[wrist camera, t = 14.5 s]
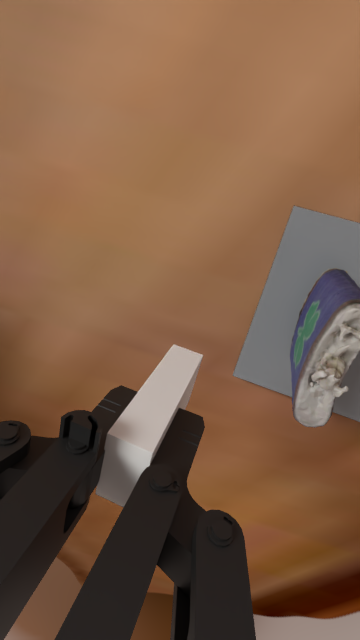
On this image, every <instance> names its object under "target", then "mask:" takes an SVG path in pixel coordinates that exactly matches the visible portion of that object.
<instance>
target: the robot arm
mask: <svg viewBox="0 0 360 640" xmlns="http://www.w3.org/2000/svg"><path fill="white" fill-rule="evenodd" d="M202 357H203V355H201V354H199V353H196V352H193V351H190V350H188V349H185V348H182V347H179V346H177V345H174V344H173V346H172V347H171V348H170V350H169V351H168V352H167V354H166V355H165V356H164V358H163V359H162V361H161V362H160V363H159V365H158V366H157V367H156V369H155V370H154V371H153V373H152V374H151V375H150V377H149V378H148V379H147V381H146V382H145V383H144V385H143V386H142V387H141V389H140V390H139V391H138V392H136V391H134V390H131V389H129V388H126V387H124V386H119V387H117V388H115V389H112V390H111V391H110V392H109V393H108V394H107V395H106V396H105V397H104V399H103V400H102V401H101V402H100V403H99V404H98V406H96V407H95V409H94V410H93V411H92V412H89V411H85V410H75V411H72V412H68V413H67V414H65V415H64V416H62V417H61V425H60V433H59V438H45V437H38V436H31V432H30V429H29V428H28V426H27V425H26V424H24V423H22V422H19V421H12V420H11V421H3V422H0V640H4V638H5V636H6V635H7V634H8V632H9V630H10V629H11V627H12V626H13V624H14V623H15V621H16V619H17V618H18V616H19V615H20V613H21V611H22V610H23V608H24V606H25V605H26V603H27V602H28V600H29V599H30V597H31V595H32V594H33V592H34V591H35V589H36V588H37V586H38V584H39V583H40V581H41V580H42V578H43V577H44V575H45V573H46V572H47V570H48V569H49V567H50V565H51V564H52V562H53V561H54V559H55V558H56V556H57V554H58V553H59V551H60V550H61V548H62V546H63V545H64V543H65V542H66V540H67V538H68V537H69V535H70V534H71V532H72V531H73V529H74V527H75V526H76V524H77V523H78V521H79V519H80V518H81V516H82V515H83V513H84V512H85V510H86V508H87V505H88V503H89V498H90V495H91V493H92V492H93V490H94V489H95V487H96V486H97V488H96V494H97V495H99V496H101V497H103V498H105V499H107V500H109V501H112V502H114V503H116V504H118V505H120V506H122V507H124V508H123V510H122V512H121V514H120V515H119V517H118V519H117V521H116V523H115V525H114V527H113V529H112V531H111V533H110V535H109V536H108V538H107V540H106V542H105V544H104V546H103V548H102V550H101V552H100V554H99V556H98V558H97V559H96V561H95V563H94V565H93V567H92V569H91V571H90V573H89V575H88V577H87V579H86V581H85V582H84V584H83V586H82V588H81V590H80V592H79V594H78V596H77V598H76V600H75V602H74V604H73V605H72V608H71V609H70V612H69V613H68V615H67V617H66V619H65V621H64V623H63V625H62V627H61V628H60V631H59V632H58V634H57V636H56V638H55V640H130V638H131V636H132V633H133V630H134V627H135V624H136V622H137V618H138V616H139V613H140V610H141V607H142V605H143V602H144V599H145V596H146V593H147V590H148V588H149V585H150V582H151V579H152V576H153V573H154V571H155V568H156V565H158V566H159V567H160V568H161V569H162V570H163V571H164V573H165V574H166V575H167V576H168V577H169V578H170V579H171V580H172V581H173V582H174V594H173V609H172V624H171V640H256V636H255V628H254V619H253V610H252V601H251V593H250V584H249V575H248V567H247V558H246V549H245V540H244V536H243V532H242V529H241V527H240V526H239V524H238V523H237V521H236V520H235V519H234V518H233V517H232V516H230V515H229V514H228V513H225V512H223V511H221V510H209V511H207V512H206V511H205V510H204V509H203V508H202V507H200V506H199V505H198V504H197V503H196V502H195V501H194V500H193V498H192V497H191V495H190V494H189V491H188V488H187V477H188V474H189V471H190V468H191V465H192V462H193V460H194V457H195V454H196V451H197V448H198V445H199V442H200V439H201V437H202V434H203V431H204V428H205V426H204V421H203V417H201V416H199V415H196V414H194V413H191V412H189V411H186V410H185V408H186V406H187V404H188V402H189V399H190V396H191V393H192V389H193V386H194V383H195V380H196V377H197V373H198V370H199V367H200V364H201V360H202Z"/></svg>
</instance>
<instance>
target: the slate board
mask: <svg viewBox="0 0 360 640" xmlns="http://www.w3.org/2000/svg"><path fill="white" fill-rule="evenodd" d="M333 268H337V269H341V270H344V271H347V274H348V275H349V276H350V277H351V278H352V280H354V281H355V283H356V284H357V285H358V287H360V223H358V222H354V221H351V220H347V219H343V218H339V217H336V216H332V215H328V214H324V213H321V212H317V211H313V210H309V209H305V208H302V207H298V206H293V208H292V211H291V214H290V217H289V219H288V222H287V225H286V228H285V231H284V233H283V236H282V239H281V242H280V244H279V247H278V250H277V253H276V256H275V258H274V261H273V264H272V267H271V269H270V272H269V275H268V278H267V281H266V283H265V286H264V289H263V292H262V294H261V297H260V300H259V303H258V306H257V308H256V311H255V314H254V317H253V319H252V322H251V325H250V328H249V331H248V333H247V336H246V339H245V342H244V344H243V347H242V350H241V353H240V356H239V358H238V361H237V364H236V367H235V369H234V373H233V376H235V377H238V378H241V379H243V380H246V381H249V382H252V383H254V384H257V385H260V386H263V387H265V388H268V389H271V390H273V391H276V392H279V393H282V394H284V395H287V396H290V397H292V381H291V378H292V376H291V362H290V349H291V344H292V338H293V335H294V331H295V328H296V324H297V321H298V318H299V313H300V310H301V309H302V306H303V303H304V302H305V299H306V298H307V297H308V296H307V295H308V293H309V292H310V291H311V289H312V287H313V285H314V284H315V282H316V280H317V279H318V278H319V277H320V276H321V275H322V273H324V272H325V271H327V270H328V269H333ZM345 386H347V387H348V388H349V389H348V391H347V392H344V393H343V394H342V395H341V396H340V397H336V398H335V402H334V406H333V411H332V412H334V413H336V414H339V415H342V416H345V417H347V418H350V419H353V420H356V421H358V422H360V352H359V353H358V355H357V356H356V358H355V359H354V361H353V362H352V364H351V366H350V368H349V370H348V371H347V373H346V375H345V377H344V379H343V381H342V384H341V387H340V388H343V387H345Z"/></svg>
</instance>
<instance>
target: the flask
mask: <svg viewBox="0 0 360 640" xmlns="http://www.w3.org/2000/svg"><path fill="white" fill-rule="evenodd" d="M307 296H308V297H307V298H306V299H305V302H304V303H303V306H302V309H301V310H300V313H299V318H298V321H297V324H296V328H295V331H294V335H293V338H292V344H291V349H290V362H291V376H292V378H291V381H292V404H293V407H292V409H293V415H294V418H295V419H296V420H297V421H298V422H299V423H301V424H302V425H304V426H306V427H318V426H324V425H325V424H326V423H327V421H328V420H329V418H330V417H331V415H332V411H333V406H334V402H335V398H336V397H340V396H341V395H342V394H343V393H344V392H347V391H348V389H349V388H348V387H347V386H345V387H343V388H340V387H341V384H342V381H343V379H344V377H345V375H346V373H347V371H348V370H349V368H350V366H351V364H352V362H353V361H354V359H355V358H356V356H357V355H358V353H359V352H360V287H358V285H357V284H356V283H355V281H354V280H352V278H351V277H350V276H349V275H348V274H347V271H344V270H341V269H337V268H333V269H328V270H327V271H325V272H324V273H322V275H321V276H320V277H319V278H318V279H317V280H316V282H315V284H314V285H313V287H312V289H311V291H310V292H309V293H308V295H307Z"/></svg>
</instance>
